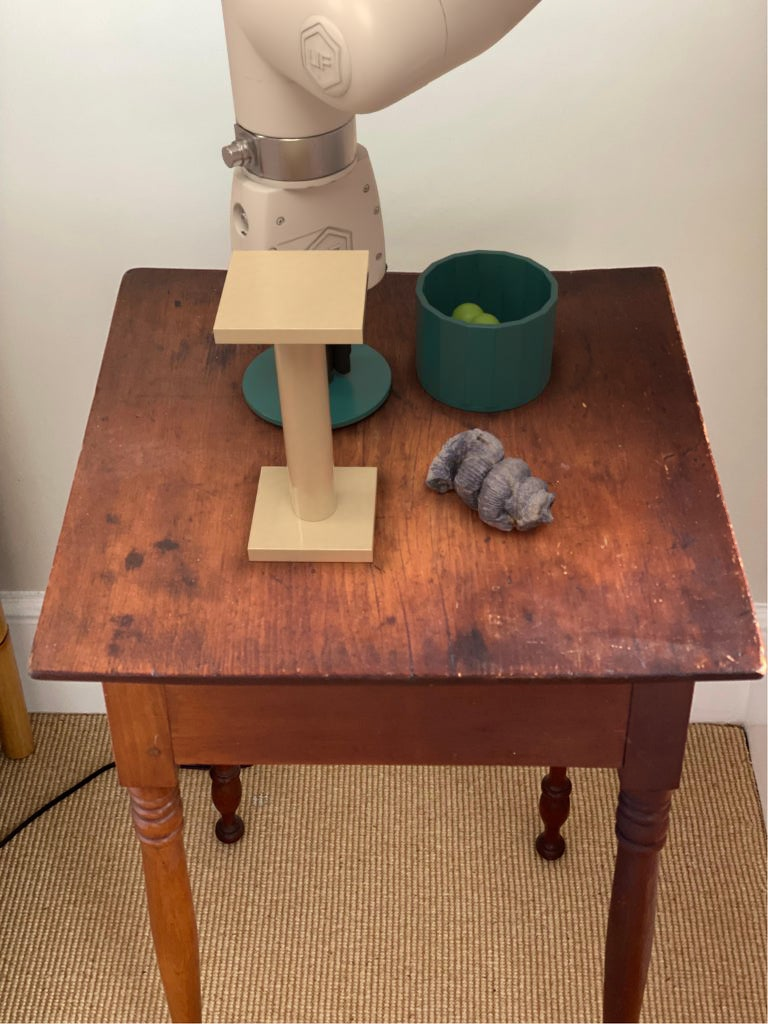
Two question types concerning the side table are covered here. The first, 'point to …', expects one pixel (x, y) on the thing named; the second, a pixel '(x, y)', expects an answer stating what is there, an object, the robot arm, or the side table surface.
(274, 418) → the lid
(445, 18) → the robot arm
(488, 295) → the pot
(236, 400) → the side table surface
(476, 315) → the grapes
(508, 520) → the seashell
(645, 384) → the side table surface
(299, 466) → the pedestal
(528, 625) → the side table surface
